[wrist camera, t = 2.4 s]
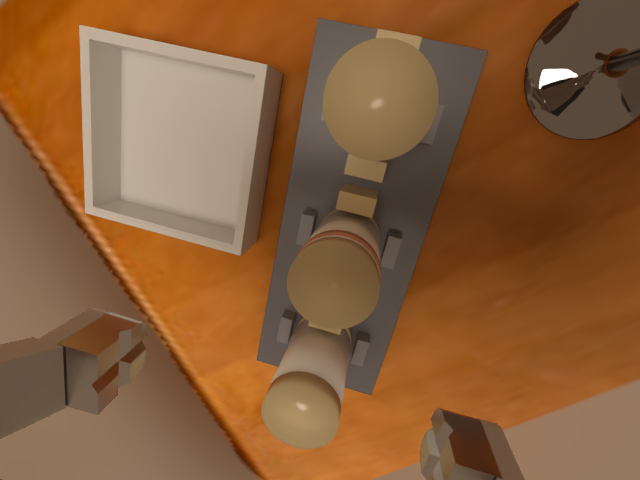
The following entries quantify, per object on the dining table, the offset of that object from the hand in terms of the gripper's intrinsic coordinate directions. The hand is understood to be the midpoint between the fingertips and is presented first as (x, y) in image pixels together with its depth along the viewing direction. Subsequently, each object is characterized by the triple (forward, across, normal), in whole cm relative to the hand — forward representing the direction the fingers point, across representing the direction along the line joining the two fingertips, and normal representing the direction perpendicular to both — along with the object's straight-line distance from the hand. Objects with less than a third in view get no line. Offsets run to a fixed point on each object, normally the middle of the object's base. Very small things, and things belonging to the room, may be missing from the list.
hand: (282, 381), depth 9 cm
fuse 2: (+13, -1, -8) cm, 15 cm away
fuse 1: (+13, -1, +7) cm, 15 cm away
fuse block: (+15, -1, 0) cm, 15 cm away
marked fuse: (+13, -1, 0) cm, 13 cm away
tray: (+15, +11, -3) cm, 19 cm away
